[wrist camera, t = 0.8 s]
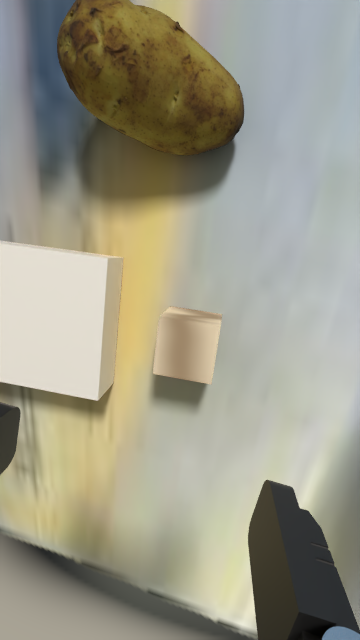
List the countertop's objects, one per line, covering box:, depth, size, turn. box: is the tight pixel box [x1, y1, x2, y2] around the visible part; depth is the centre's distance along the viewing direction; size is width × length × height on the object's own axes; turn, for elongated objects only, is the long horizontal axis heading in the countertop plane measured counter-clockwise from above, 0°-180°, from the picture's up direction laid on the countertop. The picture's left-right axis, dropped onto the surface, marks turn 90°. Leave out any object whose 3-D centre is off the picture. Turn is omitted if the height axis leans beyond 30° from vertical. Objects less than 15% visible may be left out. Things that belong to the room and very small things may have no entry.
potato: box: [57, 0, 244, 155], centre depth 22 cm, size 8×13×8 cm, turn 50°
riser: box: [0, 241, 124, 401], centre depth 30 cm, size 14×13×4 cm
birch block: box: [153, 306, 222, 384], centre depth 28 cm, size 5×5×5 cm
